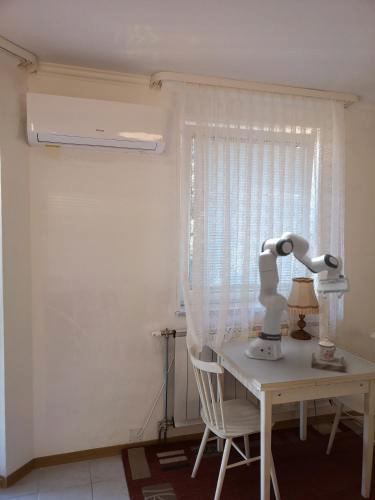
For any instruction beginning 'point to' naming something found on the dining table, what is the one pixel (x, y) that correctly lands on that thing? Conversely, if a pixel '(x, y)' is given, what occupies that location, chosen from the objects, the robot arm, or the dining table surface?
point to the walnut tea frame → (328, 365)
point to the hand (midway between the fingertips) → (331, 298)
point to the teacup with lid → (326, 350)
